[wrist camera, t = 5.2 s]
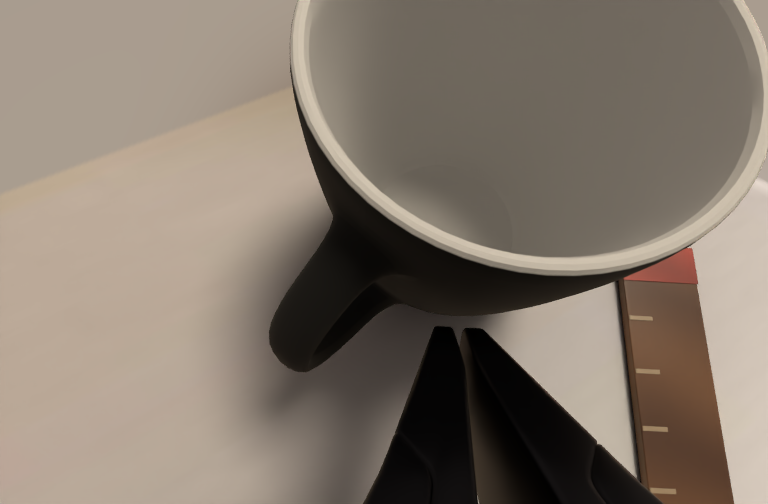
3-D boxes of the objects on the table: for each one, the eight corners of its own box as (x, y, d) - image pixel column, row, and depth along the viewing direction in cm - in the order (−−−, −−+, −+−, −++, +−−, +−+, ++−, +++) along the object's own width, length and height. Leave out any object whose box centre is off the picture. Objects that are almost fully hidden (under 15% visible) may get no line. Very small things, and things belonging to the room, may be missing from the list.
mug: (429, 102, 19) (493, -185, 9) (588, 227, 17) (864, 37, 8) (231, 287, 16) (24, 150, 6) (400, 457, 15) (462, 613, 5)
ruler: (765, 745, 13) (779, 758, 12) (669, 741, 13) (680, 754, 12) (684, 251, 17) (692, 248, 17) (613, 247, 17) (620, 243, 17)
